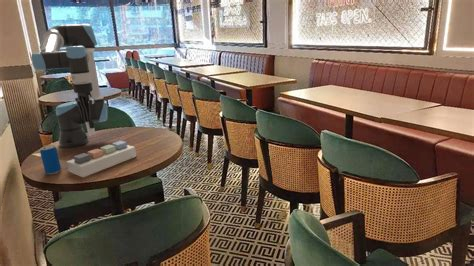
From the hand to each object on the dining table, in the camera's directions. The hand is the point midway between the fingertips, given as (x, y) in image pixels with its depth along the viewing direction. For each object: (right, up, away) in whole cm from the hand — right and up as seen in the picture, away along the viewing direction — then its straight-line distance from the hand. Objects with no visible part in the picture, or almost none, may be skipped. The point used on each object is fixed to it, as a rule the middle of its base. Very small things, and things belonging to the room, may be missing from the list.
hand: (91, 134), depth 150 cm
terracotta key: (+1, -10, +3) cm, 11 cm away
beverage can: (-18, -17, +1) cm, 25 cm away
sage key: (+4, -9, +8) cm, 13 cm away
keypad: (+3, -14, +7) cm, 16 cm away
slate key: (+8, -7, +13) cm, 17 cm away
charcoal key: (-3, -12, -1) cm, 13 cm away
